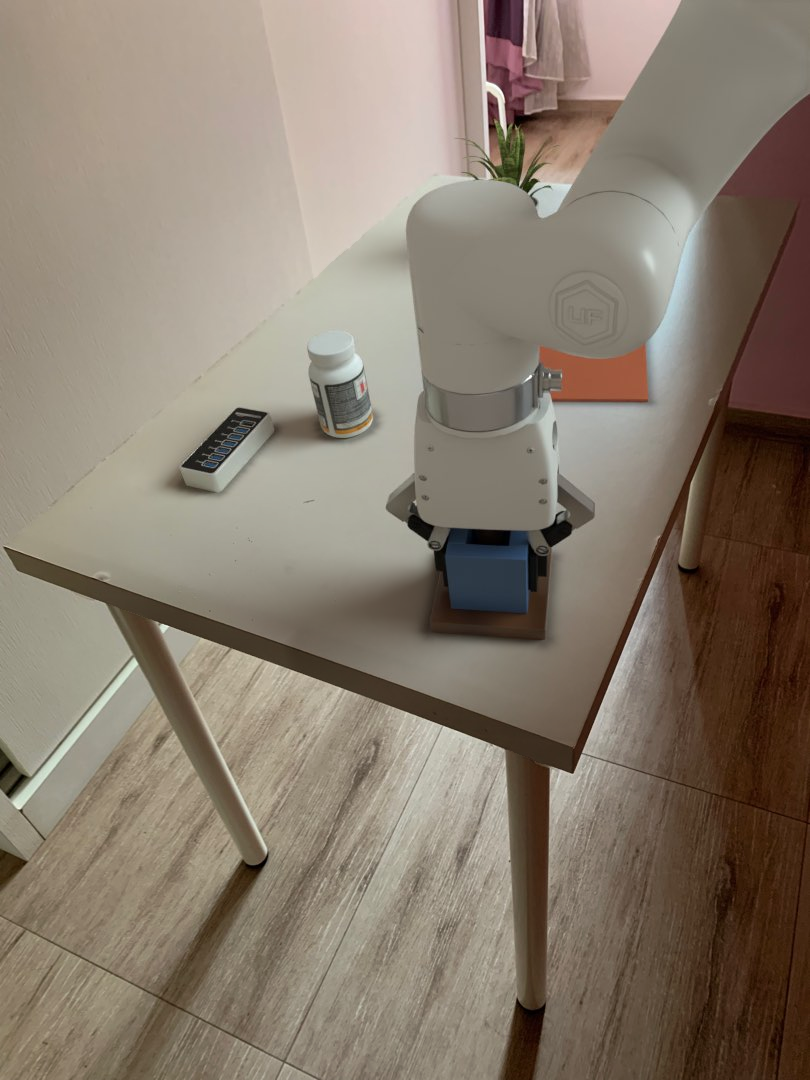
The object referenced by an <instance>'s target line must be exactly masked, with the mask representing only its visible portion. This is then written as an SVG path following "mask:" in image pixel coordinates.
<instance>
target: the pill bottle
mask: <svg viewBox="0 0 810 1080" xmlns="http://www.w3.org/2000/svg"><path fill="white" fill-rule="evenodd" d="M306 347H307V349H306V350H307V355H308V358H309V360H310V361H311V362H310V364H309V366H308V379H309V382H310V387H311V391H312V395H313V399H314V404H315V407H316V412H317V417H318V420H319V424H320V427H321V429H322V431H323V432H324V433H325V434H327V435H328V436H330V437H333V438H339V439H345V438H352V437H353V438H354V437H355V436H358V435H361V434H363V433H364V432H365V431H367V430H368V429H369V428H370V427H371V425H372V423H373V419H374V415H373V414H374V413H373V408H372V403H371V402H372V401H371V398H370V393H369V387H368V383H367V382H368V381H367V377H366V372H365V371H366V370H365V365H364V363H363V360H362V358H361V356H359V354H358V353H356V349H357V348H356V343H355V339H354V337H353V335H352V334H350V333H349V332H347V331H344V330H328V331H324V332H321V333H318V334H316V335H314V336H313V337H311V338H310V339H309V341H308V342H307V345H306Z"/></svg>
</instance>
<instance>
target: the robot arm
mask: <svg viewBox="0 0 810 1080" xmlns="http://www.w3.org/2000/svg"><path fill="white" fill-rule="evenodd" d="M808 95H810V0H680V1H679V4H678V6H677V8H676V10H675V13H674V14H673V16H672V18H671V20H670V21H669V24H668V26H667V27H666V28H665V30H664V32H663V34H662V36H661V38H660V39H659V41H658V43H657V44H656V46H655V48H654V49H653V51H652V53H651V54H650V56H649V57H648V59H647V61H646V63H645V65H644V66H643V68H642V69H641V71H640V73H639V75H638V76H637V78H636V80H635V81H634V83H633V84H632V86H631V88H630V89H629V91H628V93H627V94H626V96H625V97H624V99H623V101H622V103H621V104H620V106H619V107H618V109H617V111H616V112H615V114H614V116H613V118H612V119H611V121H610V122H609V124H608V126H607V128H606V129H605V131H604V132H603V134H602V136H601V137H600V139H599V140H598V142H597V144H596V145H595V147H594V148H593V150H592V152H591V153H590V155H589V157H588V158H587V159H586V161H585V163H584V165H583V166H582V168H581V169H580V171H579V173H578V174H577V176H576V178H575V179H574V181H573V182H572V184H571V186H570V188H569V190H568V191H567V192H566V195H565V196H564V198H563V199H562V201H561V203H560V205H559V207H558V208H557V211H555V212H553V213H552V214H550V215H548V216H544V217H540V216H539V213H538V212H539V211H538V212H537V209H536V206H535V204H534V201H533V200H532V199H531V197H530V196H529V195H530V194H529V193H528V194H527V193H526V192H525V191H524V190H522V189H520V188H519V187H520V186H519V187H517V186H515V185H513V184H510V183H506V182H501V181H494V180H489V179H483V180H475V179H471V180H463V181H457V182H452V183H449V184H445V185H443V186H439V187H437V188H434V189H432V190H430V191H429V192H427V193H425V194H423V196H421V197H420V198H418V200H417V201H416V202H415V203H414V204H413V205H412V207H411V208H410V211H409V213H408V215H407V219H406V225H405V237H406V238H405V239H406V251H407V258H408V259H407V260H408V266H409V267H408V268H409V275H410V276H409V278H410V285H411V292H412V293H411V294H412V301H413V302H412V303H413V311H414V312H413V313H414V319H415V320H414V321H415V328H416V337H417V343H418V344H417V347H418V354H419V363H420V369H421V370H420V372H421V381H422V387H423V389H422V391H421V392H420V394H419V395H418V398H417V403H416V411H415V419H414V435H413V460H414V461H413V466H414V467H413V469H414V472H413V473H412V474H411V475H410V476H409V477H408V478H407V479H406V480H404V481H403V482H402V483H401V484H399V486H398V487H396V488H395V489H394V490H393V491H392V492H390V494H389V495H388V497H387V501H386V504H385V510H386V511H387V512H388V513H389V514H391V515H392V516H393V517H395V518H397V519H398V520H399V521H401V522H402V523H403V522H404V523H406V526H407V528H408V529H409V530H411V531H412V532H413V533H415V534H416V535H418V536H419V537H420V538H422V539H423V540H425V541H426V542H427V544H426V545H427V548H428V549H430V550H431V551H433V556H434V557H433V558H434V565H435V571H436V572H440V571H442V572H443V580H444V587H449V585H448V577H447V568H446V559H445V554H446V549H447V544H448V540H449V535H450V530H451V528H467V529H490V530H521V531H523V532H524V534H525V536H526V537H527V539H528V541H529V543H530V544H529V553H528V589H529V590H530V592H537V587H538V576H539V577H547V569H548V554H549V553H550V550H551V548H552V549H553V547H555V546H556V545H558V544H559V543H561V542H563V541H564V540H566V539H567V538H568V537H570V536H571V535H572V534H573V531H575V530H578V529H580V528H581V527H583V526H584V525H586V524H587V523H589V522H590V521H592V520H594V518H595V516H596V515H595V513H596V504H595V501H594V500H592V499H591V498H590V497H589V496H588V495H586V494H585V493H584V492H583V491H581V490H580V489H579V488H578V487H577V486H575V485H574V484H573V483H572V482H570V480H569V479H567V478H566V477H564V476H563V475H562V474H561V473H560V455H559V454H560V452H559V450H560V449H559V436H558V425H557V419H556V413H555V407H554V403H553V401H552V399H551V395H550V391H561V390H562V370H551V368H544V363H540V353H539V345H541V346H544V347H547V348H550V349H553V350H556V351H559V352H563V353H566V354H570V355H574V356H579V357H585V358H597V359H606V358H615V357H619V356H623V355H626V354H628V353H630V352H633V351H635V350H636V349H638V348H639V347H641V346H642V345H644V344H645V343H647V342H648V341H649V340H650V339H651V338H652V337H653V336H654V335H655V334H656V332H657V331H658V330H659V328H660V326H661V324H662V322H663V320H664V318H665V316H666V314H667V311H668V308H669V305H670V301H671V297H672V294H673V291H674V287H675V284H676V280H677V277H678V273H679V267H680V263H681V260H682V257H683V253H684V251H685V250H684V249H685V246H686V243H687V240H688V237H689V235H690V233H691V232H692V230H693V229H694V227H695V225H696V224H697V222H698V221H699V219H700V218H701V217H702V215H703V214H704V212H705V211H706V210H707V209H708V207H709V206H710V205H711V203H712V202H713V201H714V200H715V198H717V197H716V196H718V194H719V193H720V192H721V190H722V189H723V188H724V186H725V185H726V183H728V181H729V180H730V178H731V177H732V176H733V174H734V173H735V172H736V171H737V169H739V167H740V166H741V164H742V163H743V162H744V160H746V159H747V157H748V155H749V154H750V153H751V152H752V151H753V149H754V148H755V147H756V146H757V145H758V143H759V142H760V141H761V140H762V139H763V138H764V136H766V134H767V133H768V132H769V131H771V129H772V127H774V126H775V125H776V123H777V122H778V121H779V120H780V119H781V118H782V117H783V116H784V115H785V114H786V113H788V112H789V111H790V110H791V109H792V108H794V106H796V105H797V104H798V103H799V102H801V100H803V99H804V98H806V97H807V96H808ZM415 502H416V503H415ZM558 504H559V505H560V506H561V507H563V508H564V509H565V510H561V511H560V510H559V511H558V512H557V510H558V509H557V508H558Z"/></svg>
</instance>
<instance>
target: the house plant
mask: <svg viewBox="0 0 810 1080" xmlns="http://www.w3.org/2000/svg"><path fill="white" fill-rule="evenodd" d="M493 122H494V125H495V129H496V134H497V144H498V149H499V154H500V155H499V156H500V159H501V160H500V162H501V164H500V165H495V164H494V163H493V161H492V160H491V159H490V158H489V156H488V155H487V154H486V152H485V151H484V150H483V149H482V147H481V146H479V145H478V144H477V143H476V142H475V141H473V140H471V139H467V138H463V137H455V139H458V140H462V141H466V142H469V143H466V145H468V146H473V147H475V148H477V149H478V150H479V151H480V152H481V153H482V155H484V157H485V158H484V157H479V156H478V155H477V156H475V155H469V156H464V157H463V159H468V158H479V159H481V160H474V161H473V160H472V161H470V162H469V164H470V163H474V162H475V163H476V162H478V163H479V164H481V165H482V166H484V167H485V168H486V170H487V171H488V173H489V174H490V175H491V176H492V178H489V179H488V180H494V181H501V182H506V183H510V184H513V185H515V186H517V187H519V188H520V189H522V190H524V191H525V192H526V193H527V194H528V195H529V196H530V197H531V199H532V200H533V201H534V204H535V206H536V209H537V212H539V207H540V200H539V199H538V198H537V197H535V196H534V195H535V194H536V193H537V192H539V191H540V190H543V189H546V188H547V189H551V190H553V187H552V185H544V186H542V187H539V188H537V189H535V190H534V191H532V189H533V188H534V187H535V185H536V184H537V183H541V181H540V179H539V178H537V177H536V178H535V177H533V176H534V174H535V173H536V172H537V171H539V170H540V169H541V168H542V167H544V166H546V165H548V164H551V165H552V162H546V161H545V162H541V163H538V162H539V160H540V159H541V158H542V156H544V155H545V153H546V152H548V151H549V150H551V149H553V148H556V147H560V145H557V144H556V145H552V146H551V147H549V148H548V149H547V150H546V151H544V152H543V153H542V154H541V155H540V153H541V152H542V151H543V149H544V147H545V146H546V144H547V143H548V142H549V140H550V138H551V137H549V138H548V139H546V141H545V142H544V143H543V144H542V145H541V148H540V150H539V151H538V152H537V154H536V155H535V157H534V159H533V160H531V161H532V162H531V163H530V165H529V166H528V169H527V171H526V174H525V176H524V178H523V180H522V181H521V179H522V173H523V168H524V158H525V152H526V140H525V134H524V132H523V131H524V130H523V128H521V125H519V126H518V127H517V125H516V124H514V121H513V122H511V123H510V124H509V125H508V128H507V130H506V135H505V130H504V129H503V127H502V125H501V124H500V122H499V121H498V120H497V119H495V118H493ZM513 125H514V126H513ZM513 127H514V131H515V133H514V136H513ZM519 129H520V131H519ZM552 135H553V134H552ZM552 135H551V136H552ZM512 136H513V139H512ZM461 173H463V174H466V175H469V176H471V177H472V178H473V179H474V180H484V179H483V178H479V177H477V176H476V175H475V174H473V173H471V172H467V171H461ZM532 177H533V178H532ZM520 182H521V183H520ZM530 191H532V192H531V193H530ZM529 193H530V194H529Z"/></svg>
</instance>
